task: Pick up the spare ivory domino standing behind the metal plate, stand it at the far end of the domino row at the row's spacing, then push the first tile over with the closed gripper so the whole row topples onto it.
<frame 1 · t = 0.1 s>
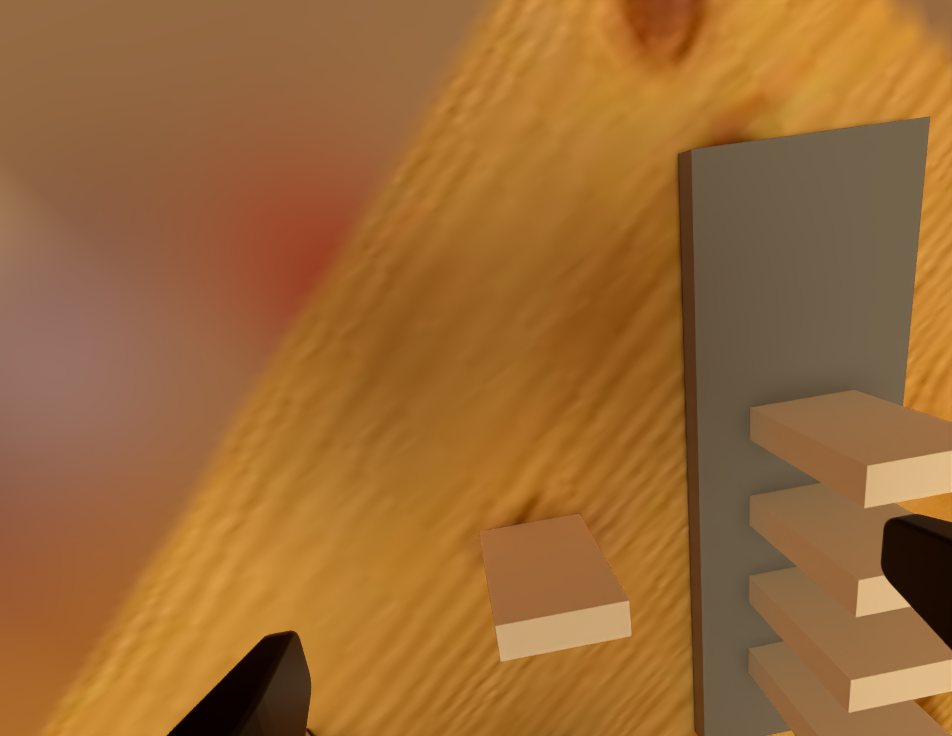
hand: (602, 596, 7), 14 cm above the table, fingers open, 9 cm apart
domino 2: (795, 580, 24), point 1 cm above the table, touching metal plate
metal plate: (784, 473, 24), on the table
domino 4: (802, 414, 22), point 1 cm above the table, touching metal plate
domino 1: (793, 651, 25), point 1 cm above the table, touching metal plate
domino 3: (798, 501, 23), point 1 cm above the table, touching metal plate
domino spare: (531, 536, 23), on the table
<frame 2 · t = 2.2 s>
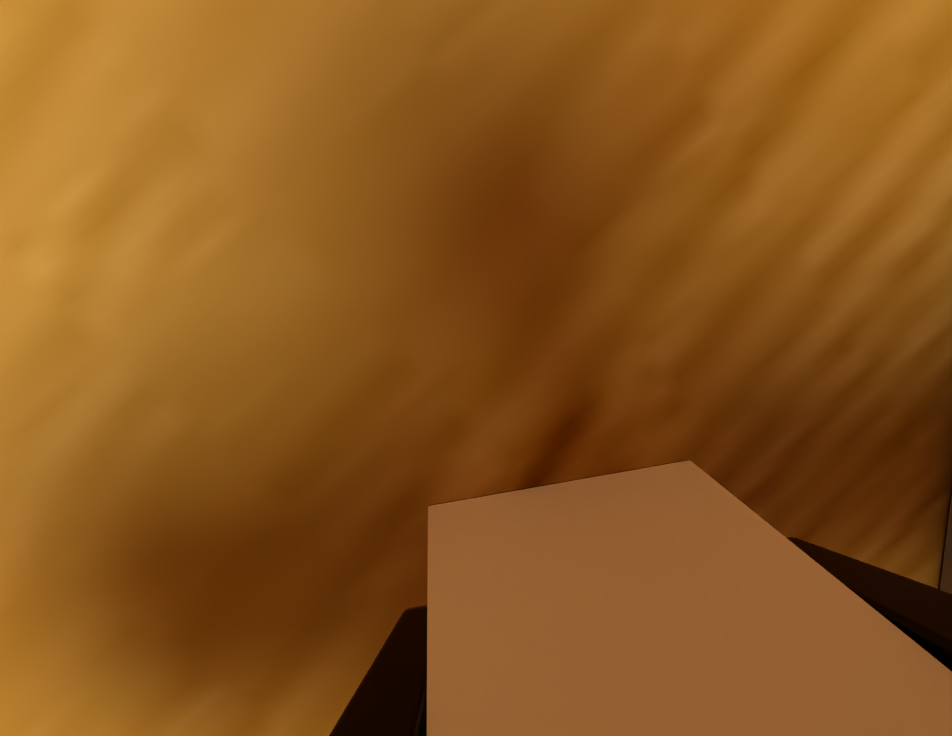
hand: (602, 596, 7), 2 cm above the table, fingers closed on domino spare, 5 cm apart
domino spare: (565, 520, 9), on the table, touching gripper
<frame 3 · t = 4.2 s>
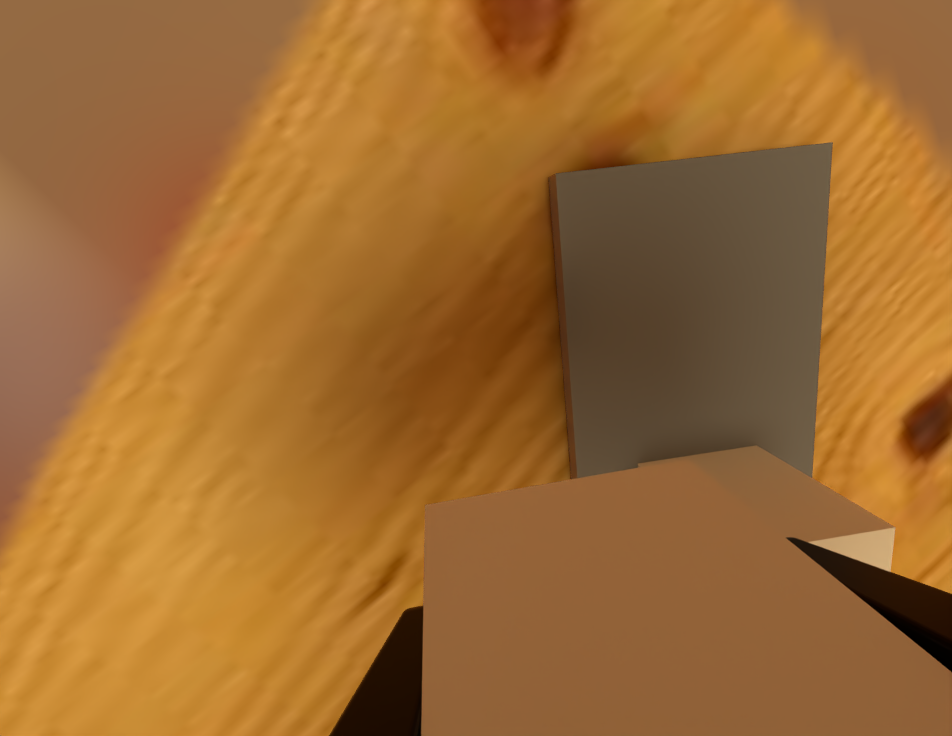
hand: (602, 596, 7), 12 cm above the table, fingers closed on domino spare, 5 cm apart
metal plate: (685, 533, 21), on the table
domino 4: (697, 472, 20), point 1 cm above the table, touching metal plate
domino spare: (562, 519, 9), point 10 cm above the table, touching gripper
when the fingers open (4 cm above the table, at t = 6.5 s): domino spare drops 1 cm, resting on metal plate.
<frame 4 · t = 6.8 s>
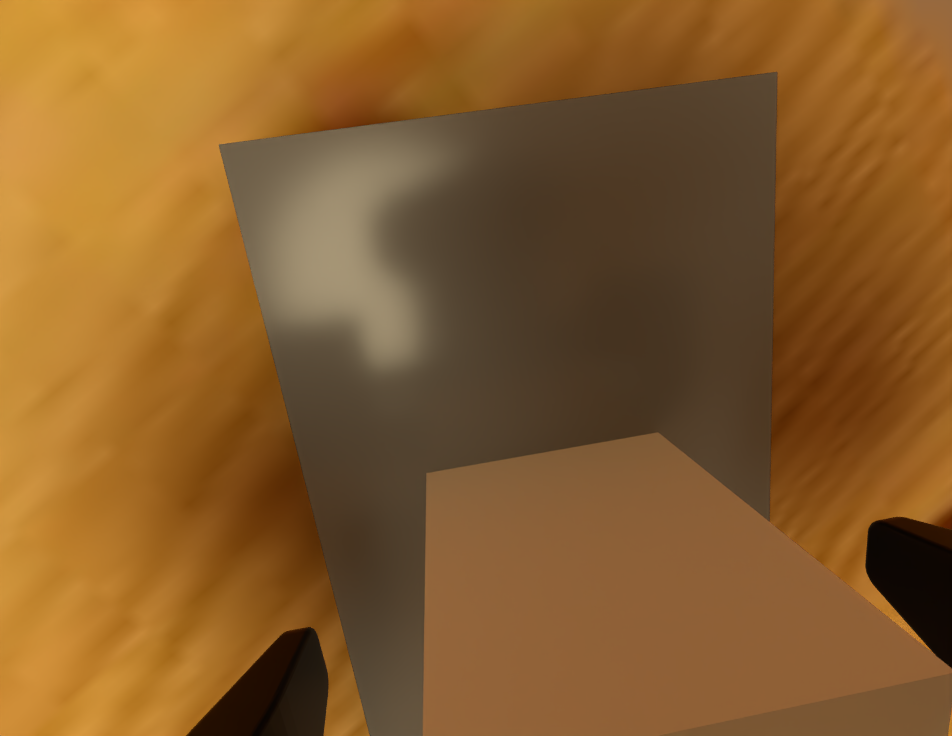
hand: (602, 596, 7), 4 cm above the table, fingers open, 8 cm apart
metal plate: (570, 728, 13), on the table
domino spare: (547, 486, 10), point 1 cm above the table, touching metal plate
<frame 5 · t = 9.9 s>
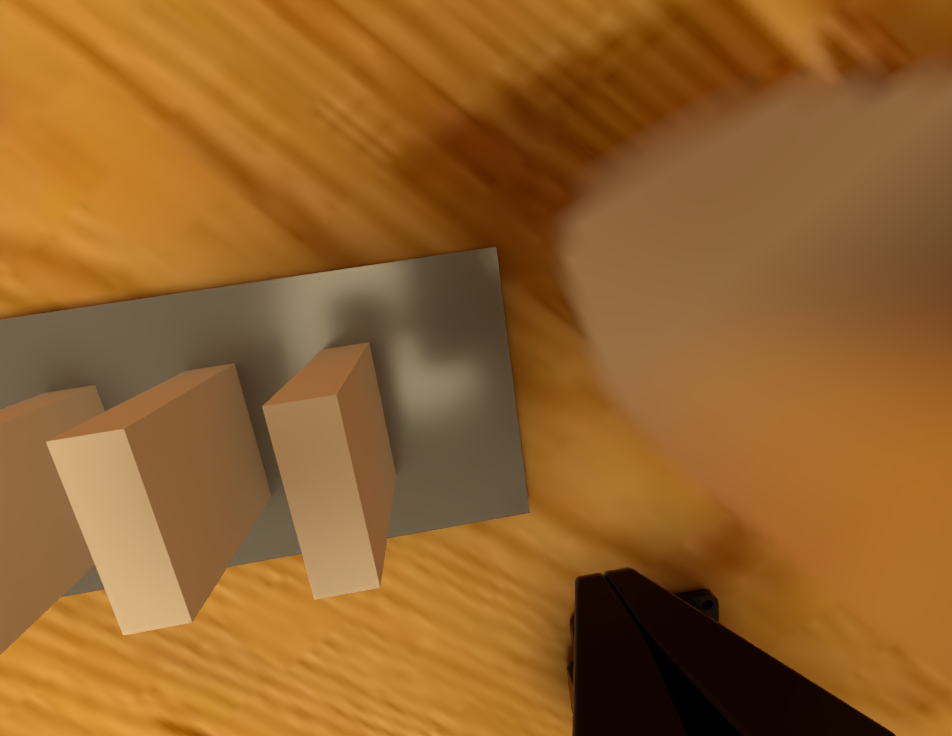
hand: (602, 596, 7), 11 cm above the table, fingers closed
domino 2: (230, 436, 17), point 1 cm above the table, touching metal plate
metal plate: (86, 451, 17), on the table
domino 1: (360, 414, 17), point 1 cm above the table, touching metal plate
domino 3: (96, 458, 16), point 1 cm above the table, touching metal plate
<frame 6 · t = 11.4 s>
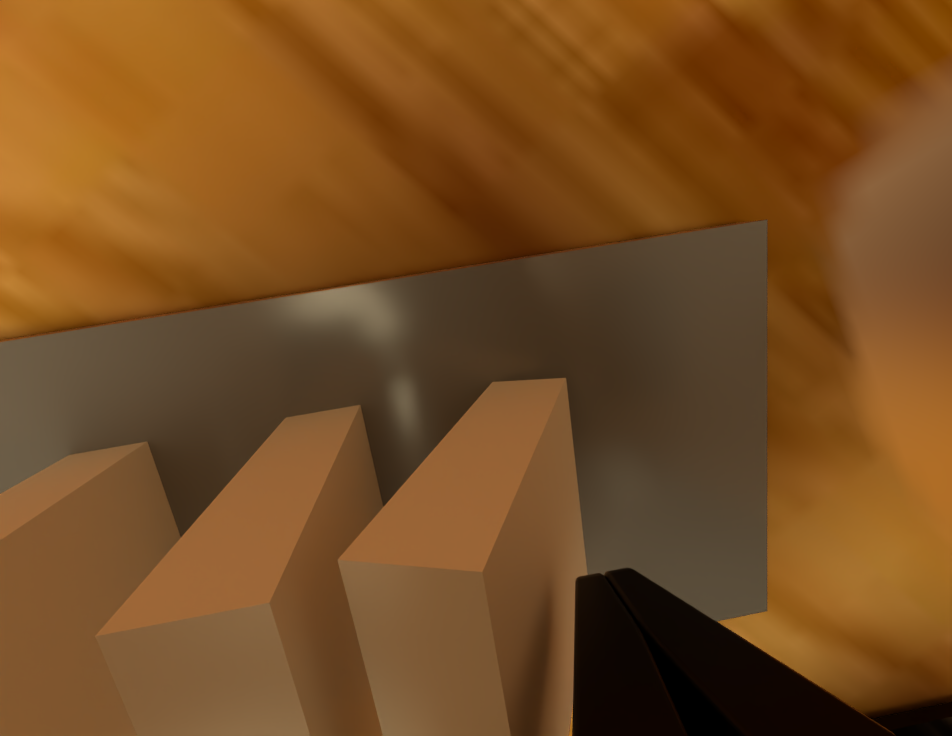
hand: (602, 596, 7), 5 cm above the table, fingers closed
domino 2: (348, 513, 11), point 1 cm above the table, touching metal plate
metal plate: (128, 533, 12), on the table
domino 1: (542, 485, 11), point 1 cm above the table, tilted 23°, touching metal plate
domino 3: (146, 550, 11), point 1 cm above the table, touching metal plate
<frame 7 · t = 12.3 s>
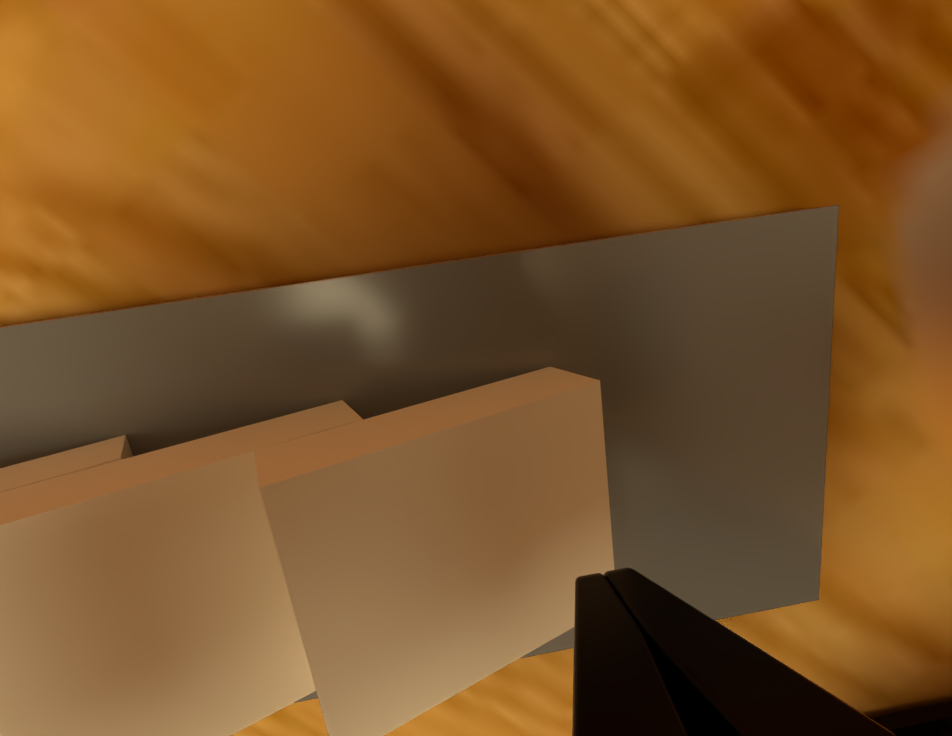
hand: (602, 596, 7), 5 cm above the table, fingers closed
domino 2: (375, 519, 10), point 2 cm above the table, tilted 67°, touching domino 1, domino 3, metal plate
metal plate: (183, 515, 11), on the table
domino 1: (583, 483, 10), point 2 cm above the table, tilted 68°, touching domino 2, metal plate
domino 3: (162, 556, 10), point 2 cm above the table, tilted 62°, touching domino 2, metal plate
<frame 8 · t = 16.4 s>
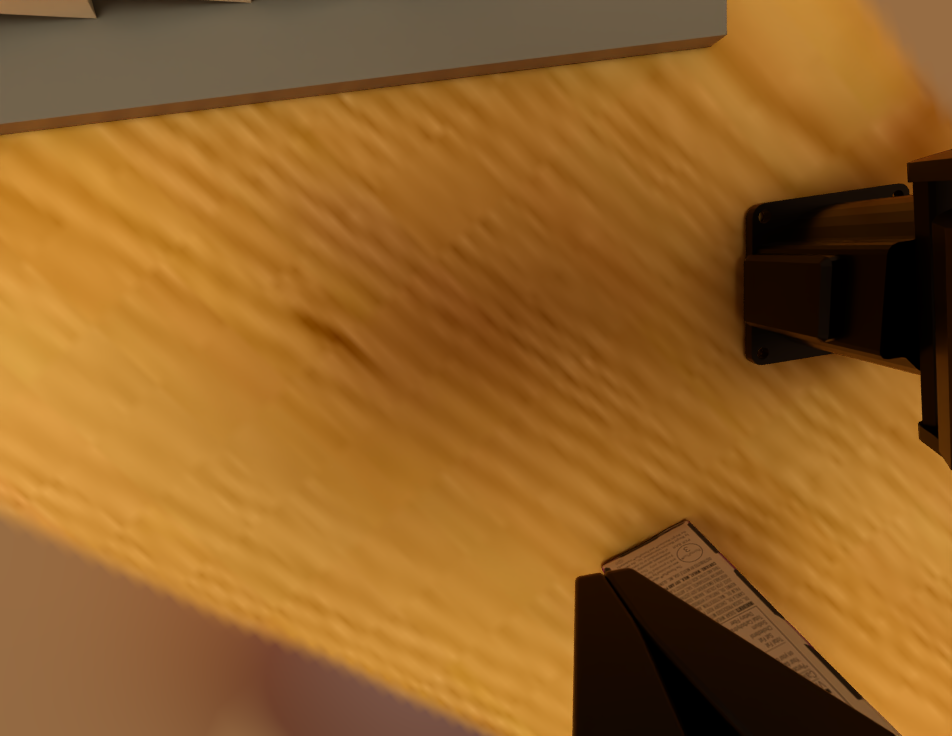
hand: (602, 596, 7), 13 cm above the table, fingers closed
candy bar box: (686, 616, 24), on the table
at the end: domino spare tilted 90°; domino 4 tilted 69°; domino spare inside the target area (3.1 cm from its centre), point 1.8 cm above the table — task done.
